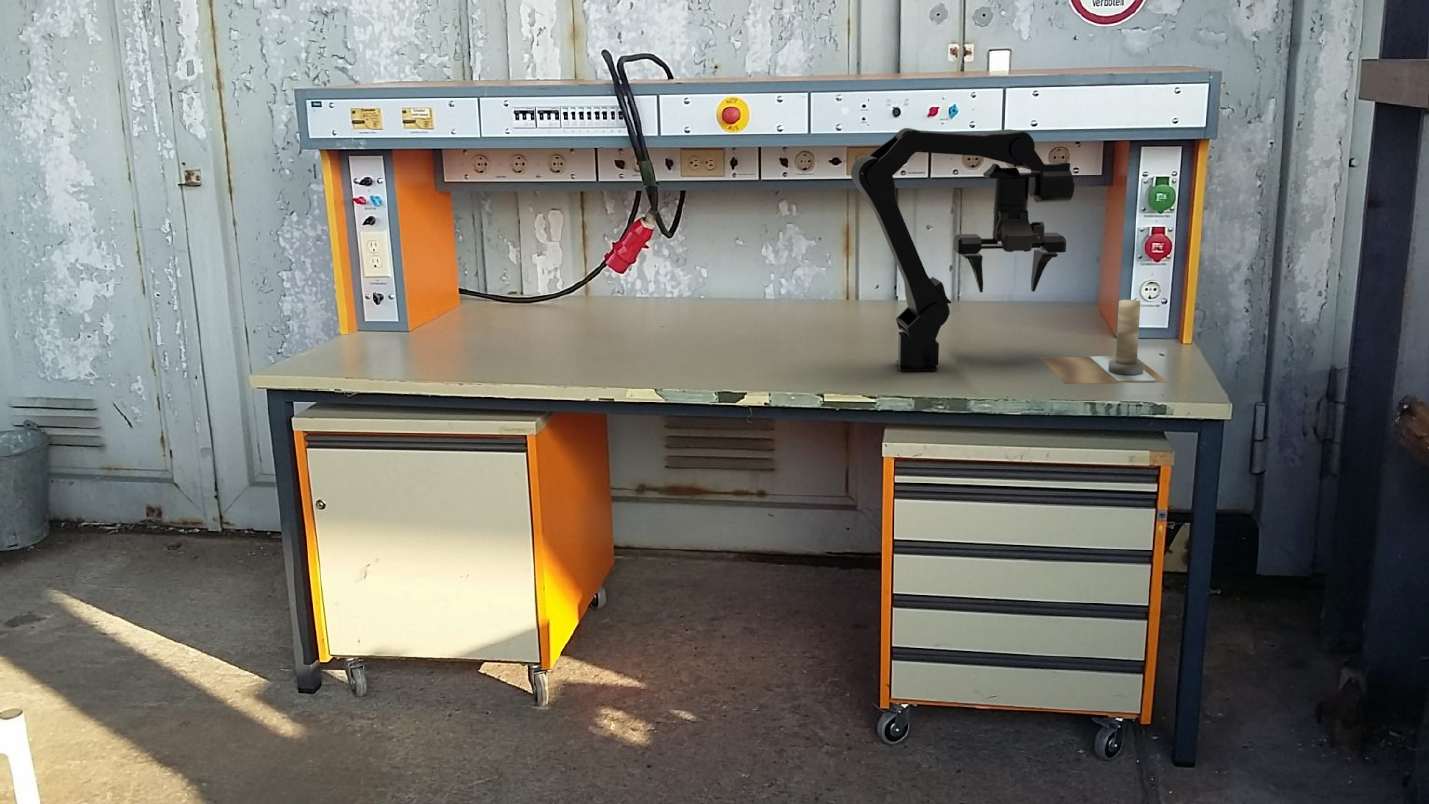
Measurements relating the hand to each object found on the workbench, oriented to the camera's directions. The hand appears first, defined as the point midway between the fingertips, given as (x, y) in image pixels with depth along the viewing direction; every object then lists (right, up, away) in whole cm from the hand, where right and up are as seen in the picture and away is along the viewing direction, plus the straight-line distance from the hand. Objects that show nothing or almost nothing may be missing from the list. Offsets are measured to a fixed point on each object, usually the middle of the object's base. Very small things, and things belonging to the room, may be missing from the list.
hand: (1006, 291), depth 218 cm
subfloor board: (+15, -15, -7) cm, 22 cm away
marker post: (+18, -14, -10) cm, 25 cm away
